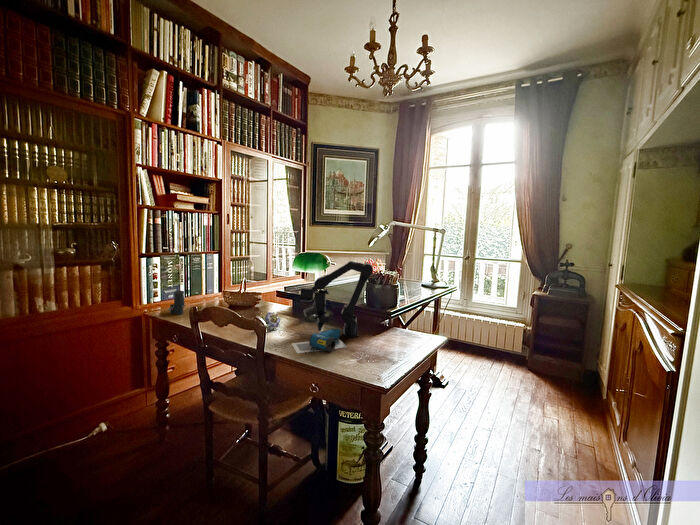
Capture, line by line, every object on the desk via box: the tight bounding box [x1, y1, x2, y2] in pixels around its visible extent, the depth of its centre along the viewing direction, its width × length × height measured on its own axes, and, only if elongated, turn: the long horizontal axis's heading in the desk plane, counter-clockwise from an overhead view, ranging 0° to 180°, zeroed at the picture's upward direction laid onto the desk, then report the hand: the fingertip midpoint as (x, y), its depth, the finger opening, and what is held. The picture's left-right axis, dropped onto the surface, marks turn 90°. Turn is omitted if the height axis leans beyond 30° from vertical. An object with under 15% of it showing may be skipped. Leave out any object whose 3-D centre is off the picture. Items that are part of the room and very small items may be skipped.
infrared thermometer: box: [308, 328, 341, 353], centre depth 152 cm, size 6×13×20 cm
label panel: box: [291, 337, 348, 354], centre depth 150 cm, size 24×12×1 cm, turn 113°
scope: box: [167, 290, 186, 316], centre depth 192 cm, size 8×14×10 cm
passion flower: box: [260, 310, 282, 332], centre depth 172 cm, size 11×11×12 cm
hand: (319, 330), depth 167 cm, fingers closed
